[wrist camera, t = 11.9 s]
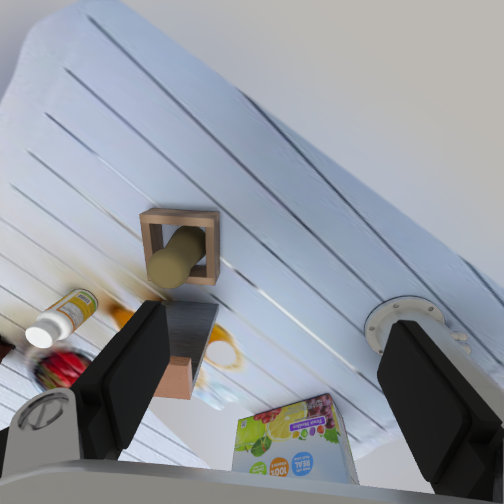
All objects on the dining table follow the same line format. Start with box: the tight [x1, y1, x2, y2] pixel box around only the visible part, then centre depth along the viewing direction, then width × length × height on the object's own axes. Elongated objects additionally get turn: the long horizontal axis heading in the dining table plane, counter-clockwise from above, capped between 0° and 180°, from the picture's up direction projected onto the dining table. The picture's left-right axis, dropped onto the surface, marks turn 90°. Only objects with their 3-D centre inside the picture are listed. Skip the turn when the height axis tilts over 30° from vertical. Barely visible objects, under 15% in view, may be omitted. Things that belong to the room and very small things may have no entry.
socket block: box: [139, 208, 220, 285], centre depth 38 cm, size 10×10×4 cm
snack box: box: [231, 394, 360, 485], centre depth 42 cm, size 22×9×26 cm, turn 119°
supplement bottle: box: [26, 289, 98, 348], centre depth 41 cm, size 5×5×10 cm
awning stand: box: [153, 300, 219, 400], centre depth 35 cm, size 10×5×17 cm, turn 87°
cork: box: [147, 226, 206, 289], centre depth 34 cm, size 6×6×11 cm
